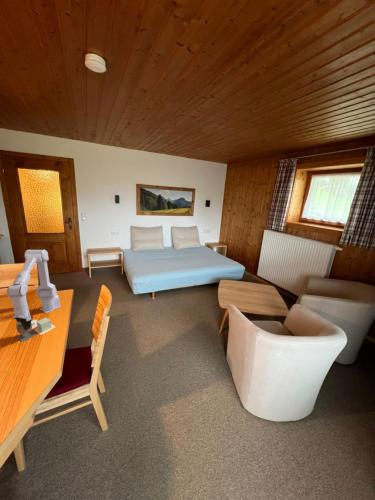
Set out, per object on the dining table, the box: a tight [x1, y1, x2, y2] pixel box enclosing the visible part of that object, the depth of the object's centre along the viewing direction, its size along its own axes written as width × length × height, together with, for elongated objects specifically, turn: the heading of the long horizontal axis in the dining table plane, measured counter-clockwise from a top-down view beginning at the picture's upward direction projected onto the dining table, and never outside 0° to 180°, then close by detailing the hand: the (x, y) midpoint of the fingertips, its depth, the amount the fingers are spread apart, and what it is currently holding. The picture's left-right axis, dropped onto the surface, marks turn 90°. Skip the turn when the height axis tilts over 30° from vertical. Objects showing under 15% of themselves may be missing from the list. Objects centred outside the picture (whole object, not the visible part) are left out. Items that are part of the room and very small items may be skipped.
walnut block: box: [15, 322, 34, 335], centre depth 108 cm, size 5×5×5 cm
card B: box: [33, 323, 56, 335], centre depth 116 cm, size 8×8×1 cm
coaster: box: [16, 330, 38, 343], centre depth 110 cm, size 7×7×1 cm
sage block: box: [36, 317, 52, 332], centre depth 116 cm, size 5×5×5 cm
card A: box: [31, 319, 38, 330], centre depth 118 cm, size 8×8×1 cm
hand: (24, 327), depth 108 cm, fingers closed on walnut block, 5 cm apart
